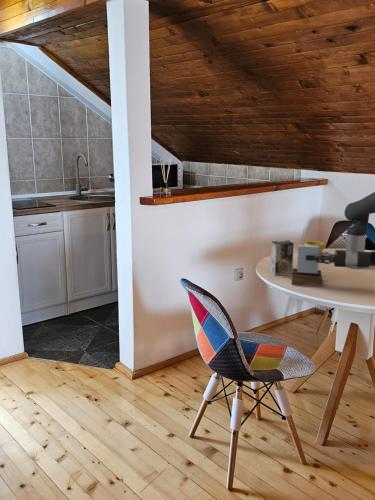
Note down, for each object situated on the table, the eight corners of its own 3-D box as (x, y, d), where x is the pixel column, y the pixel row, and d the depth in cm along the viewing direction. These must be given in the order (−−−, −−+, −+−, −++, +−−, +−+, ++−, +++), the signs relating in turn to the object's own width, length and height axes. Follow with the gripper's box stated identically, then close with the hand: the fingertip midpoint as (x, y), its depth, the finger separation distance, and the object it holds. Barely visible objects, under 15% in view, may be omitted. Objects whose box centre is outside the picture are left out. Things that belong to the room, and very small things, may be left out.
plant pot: (301, 258, 263) (302, 240, 261) (320, 258, 263) (321, 240, 261) (306, 262, 253) (308, 245, 251) (326, 262, 253) (327, 245, 251)
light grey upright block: (297, 270, 218) (298, 245, 215) (317, 271, 216) (318, 245, 213) (297, 272, 215) (298, 246, 212) (317, 273, 213) (319, 247, 210)
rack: (292, 277, 226) (292, 268, 225) (320, 279, 223) (320, 270, 222) (291, 284, 215) (292, 275, 214) (321, 286, 212) (321, 277, 211)
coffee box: (287, 271, 236) (289, 240, 233) (292, 275, 230) (294, 242, 226) (270, 272, 235) (271, 240, 231) (274, 276, 229) (276, 243, 225)
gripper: (345, 247, 216) (306, 245, 220) (347, 254, 202) (306, 252, 206) (344, 263, 217) (305, 261, 221) (346, 270, 204) (305, 268, 208)
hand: (306, 256), depth 214 cm, fingers closed on light grey upright block, 3 cm apart
